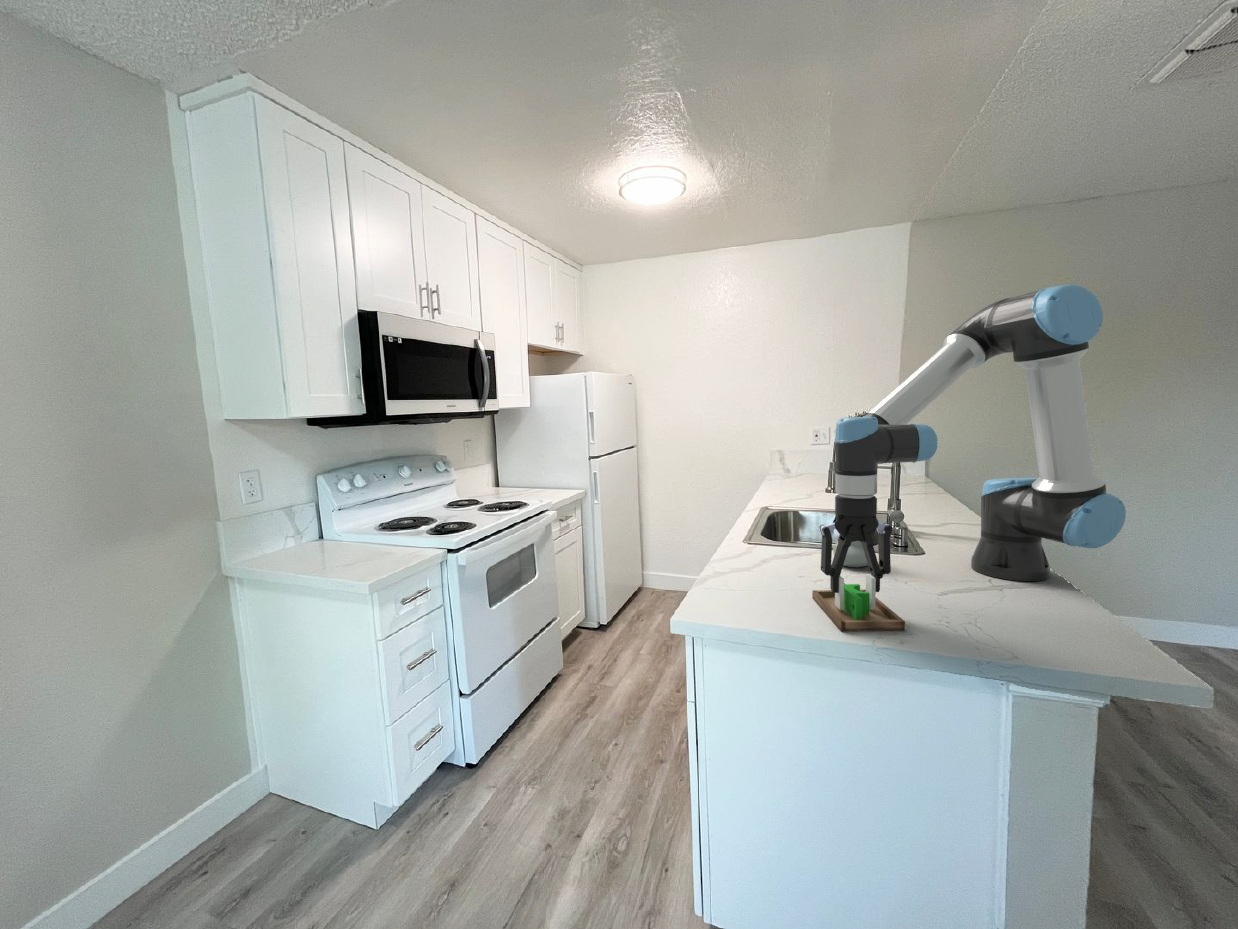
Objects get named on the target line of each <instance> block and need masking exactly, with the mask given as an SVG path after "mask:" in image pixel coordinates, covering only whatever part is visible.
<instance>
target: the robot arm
mask: <svg viewBox="0 0 1238 929" xmlns="http://www.w3.org/2000/svg"><path fill="white" fill-rule="evenodd" d="M1103 321H1104V312H1103V307H1102V305H1101V301H1099V299H1098V297H1097V296H1096V295H1095V294H1094V292H1092V290H1088V289H1087V288H1086V287H1084V286H1082V285H1080V284H1079V285H1078V284H1073V283H1071V284H1070V283H1069V284H1068V283H1067V284H1062V285H1055V286H1047V287H1045V288H1042V289H1040V290H1035V291H1032V292H1027V293H1024V294H1019V295H1017V296H1012V297H1008V298H1004V299H1000V300H997V301H994V302H993V303H990V304H988V305H987V306H985V307H983V308H982V309H980V310H978V311H977V312H975V313H974V314H973V315H971V316H970V317H969V318H968V319H966V321H964V322H962V324H960V325H959V326H958V327H957V328H955V330H953V331H951V333H950V334H949V335H947V337H945V338H944V340H943V344H942V347H941V348H940V349H938V350H937V351H936V352H935V353H934V354H933V355H931V357H929V358H928V359H927V360H926V361H925V362H924V363H923V364H921V365H920V366H919V367H918V368H917V369H916V370H915V371H914V372H913V373H911V374H910V375H908V377H906V379H904V380H903V381H902V382H901V383H900V384H899V385H898V386H897V387H896V388H894V389H893V390H892V391H891V392H890V393H889V394H887V395H886V396H885V397H884V398H883V399H882V400H880V402H878V403H877V404H876V405H875V406H874V407H873V408H872V409H871V410H869V411H868V412H867V413H866V414H864V416H854V417H853V416H851V417H847V416H846V417H842V418H841V417H840V418H839V419H838V420H837V421H836V425H835V432H834V433H835V436H834V444H835V446H834V447H835V450H834V451H835V454H834V455H835V466H834V467H835V468H834V469H835V472H834V474H835V475H834V476H835V477H834V478H835V479H834V481H835V483H834V485H835V486H834V487H835V489H834V490H835V493H836V496H835V497H834V513H835V514H834V515H835V516H834V519H833V520H832V523H828V524H826V525H825V524H820V525H819V527H818V528H819V531H820V534H821V551H820V552H821V553H820V571H821V572H822V573H823V574H824V575H826V576H829V577H830V578H829V580H830V582H829V583H830V590H832V591H833V592H834V593H835V605H836V607H837V608H838V609H839V610H844V583H845V579H844V577H843V576H841V573H842V570H843V567H844V566H843V564H844V561H845V558H846V555H847V551H848V548H849V547H850V545H851V542H855V541H860V542H861V543H862V546H863V549H864V553H865V556H866V560H867V563H868V565H867V566H868V569H869V573H866V574H865V590H866V592H869V593H870V599H869V608H870V609H871V610H875V597H876V593H879V592H880V591H881V579H883V578H884V575H890V573H891V569H892V568H891V567H892V566H891V536H892V532H893V531H894V530H893V529H894V528H893V526H892V525H890V524H888V523H886V522H879V520H878V519H877V514H878V511H877V510H878V498H877V497H876V495H877V493H878V465H880V464H881V465H882V464H883V465H884V464H897V463H898V464H899V463H913V464H915V463H917V462H924V461H925V462H926V461H928V460H930V459H931V458H933V457H934V456H935V454H936V452H937V450H938V436H937V433H936V431H935V430H934V429H933V428H932V427H931V426H930V425H927V424H924V423H922V424H919V423H918V424H917V423H910V422H911V421H913V419H914V418H916V417H917V416H918V415H919V414H920V413H921V412H922V411H923V410H925V409H926V408H927V407H928V406H929V405H930V404H931V403H933V402H934V401H935V400H936V399H938V397H939V396H940V395H942V394H943V393H944V392H945V391H947V389H949V388H950V387H951V386H952V385H953V384H954V383H955V382H957V381H958V380H959V379H960V378H961V377H962V376H964V375H965V373H967V372H968V371H969V370H970V369H977V368H979V367H981V366H982V365H983V364H984V363H985V362H987V361H988V360H990V359H992V358H994V357H996V356H1000V355H1002V354H1007V353H1012V355H1013V356H1012V357H1013V362H1014V364H1015V365H1017V366H1020V367H1021V368H1022V369H1024V373H1025V383H1026V389H1027V395H1028V405H1029V412H1030V417H1031V424H1032V432H1033V439H1034V446H1035V452H1036V454H1035V456H1036V460H1037V469H1038V475H1039V476H1038V477H1012V478H1011V477H1008V478H993V479H988V480H986V481H985V482H984V483H983V486H982V493H981V497H980V499H981V504H980V505H981V507H980V508H981V509H980V510H981V511H980V512H981V513H980V537H979V541H978V543H977V545H976V547H975V549H974V552H973V555H972V556H971V559H970V560H971V561H970V562H971V563H970V568H971V569H972V570H974V571H976V572H977V573H979V574H982V575H986V576H989V577H993V578H996V579H997V578H999V579H1003V580H1009V581H1016V582H1018V581H1019V582H1041V581H1040V580H1042V581H1046V580H1048V579H1050V578H1051V577H1050V576H1051V567H1050V566H1051V565H1050V564H1049V561H1048V559H1047V556H1046V553H1045V549H1044V547H1043V545H1042V544H1043V543H1042V542H1043V541H1042V540H1043V539H1045V540H1049V541H1052V542H1056V543H1061V544H1064V545H1065V544H1066V545H1067V546H1070V547H1078V548H1079V547H1080V548H1085V549H1098V548H1102V547H1104V546H1106V545H1108V544H1109V543H1111V542H1112V541H1113V540H1115V538H1116V537H1118V534H1119V533H1121V530H1123V527H1124V525H1125V522H1126V517H1127V516H1126V515H1127V511H1126V506H1125V504H1124V502H1123V500H1122V499H1121V500H1120V497H1117V496H1115V495H1113V494H1111V493H1108V492H1107V485H1106V480H1105V479H1104V478H1102V477H1101V476H1099V475H1097V474H1096V473H1095V471H1094V465H1093V464H1094V463H1093V457H1092V456H1093V454H1092V449H1091V440H1090V433H1089V432H1090V431H1089V424H1088V417H1087V407H1086V400H1085V399H1086V398H1085V392H1084V383H1083V375H1082V368H1081V361H1080V360H1081V359H1082V357H1083V356H1084V355H1085V354H1086V353H1087V352H1088V351H1089V350H1090V346H1089V341H1091V340H1093V339H1094V338H1095V337H1096V336H1097V335H1098V333H1099V332H1100V330H1101V329H1100V327H1101V326H1102V325H1103ZM909 423H910V424H909ZM835 530H836V531H837V533H838V534H839V536H838V538H837V543H838V545H837V548H836V552H835V555H834V554H833V557H832V552H833V537H832V536H834V534H835V533H834V532H835ZM875 531H876V532H877V533H878V534H877V542H878V543H877V544H878V546H877V547H878V549H877V550H878V556H877V555H876V551H875V547H874V540H873V538H872V535H873V534H874V533H875ZM877 557H878V558H877ZM1047 578H1048V579H1047ZM1045 579H1046V580H1045Z"/></svg>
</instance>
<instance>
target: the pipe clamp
mask: <svg viewBox="0 0 1238 929" xmlns="http://www.w3.org/2000/svg"><path fill="white" fill-rule="evenodd" d="M860 590H861V585H860V584H859V583H853V584H852V583H850V584H849V583H848V584H847V583H845V582H844V609H845V610H846V611H847V612H848V613H849V614H850V616H851V617H852V618H853V619H854V620H862V615H869V599H870V593H869V592H862V591H860Z"/></svg>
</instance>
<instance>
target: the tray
mask: <svg viewBox="0 0 1238 929" xmlns="http://www.w3.org/2000/svg"><path fill="white" fill-rule="evenodd" d="M811 591H812V593H811V594H812V600H813V601H814V603H816V604H817V605H818V607H819V608H820V609H821V610H822V611H823V613H825V616H827V618H829V619H830V621H831V622H832V623H833V624H834V625H835V626H836V628H837V629H838V630H839V631H840V632H904V631H906V620H904V619H903V618H901V616H899V615H898V614H897V613H895V612H894V611H893V610H892V609H891V608H889V607H888V605H886V604H885V603H883V602H882V600H880V599H879V598H878V597H876V596H875V610H871V609H870V608H869V615H862V620H854V619H853V618H852V617H851V616H850V614H849V613H848V612H847V611H846V610H845V609H844V610H839V609H838V608H837V607H836V605H835V593H834V592H833V591H832V590H831V589H826V590H825V589H822V590H818V589H817V590H814V589H813V590H811ZM860 591H862V592H866V589H860Z"/></svg>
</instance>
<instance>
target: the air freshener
mask: <svg viewBox="0 0 1238 929" xmlns="http://www.w3.org/2000/svg"><path fill="white" fill-rule="evenodd" d="M837 545H838V542H836V543H835V544H833V546H832V552H833V556H834V555H835V552H836V548H837ZM847 566H848V568H864V567H867V566H868V563H867V560H866V556H865V553H864V549H863V546H862V543H861V542H860V541H855V542H851V545H850V547H849V548H848V551H847V555H846V558H845V561H844V564H843V567H847Z"/></svg>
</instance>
